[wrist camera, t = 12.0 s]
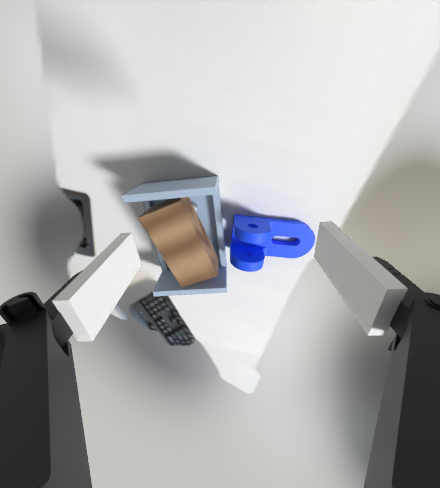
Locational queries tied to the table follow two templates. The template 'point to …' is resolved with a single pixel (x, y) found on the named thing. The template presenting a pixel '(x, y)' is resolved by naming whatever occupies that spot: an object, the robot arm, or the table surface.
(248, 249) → the bracket
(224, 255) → the frame
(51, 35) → the table surface
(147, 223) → the brown wooden block
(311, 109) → the table surface
